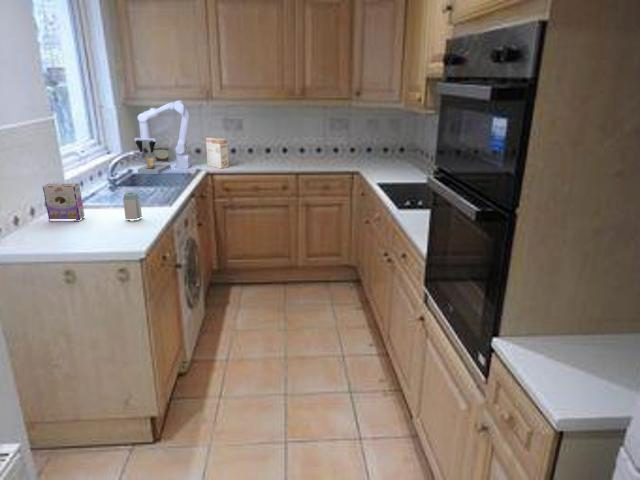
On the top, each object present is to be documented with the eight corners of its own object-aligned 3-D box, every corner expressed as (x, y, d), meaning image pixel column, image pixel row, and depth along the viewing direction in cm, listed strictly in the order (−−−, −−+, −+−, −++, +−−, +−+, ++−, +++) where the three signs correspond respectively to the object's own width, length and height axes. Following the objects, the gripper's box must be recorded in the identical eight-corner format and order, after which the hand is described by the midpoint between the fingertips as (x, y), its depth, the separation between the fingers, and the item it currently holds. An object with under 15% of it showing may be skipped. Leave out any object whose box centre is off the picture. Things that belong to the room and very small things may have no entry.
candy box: (85, 218, 223) (80, 182, 217) (80, 222, 217) (74, 186, 212) (54, 218, 222) (48, 182, 217) (48, 221, 217) (41, 185, 211)
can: (122, 220, 220) (119, 194, 216) (135, 216, 226) (132, 191, 222) (132, 223, 217) (129, 196, 213) (145, 219, 222) (142, 193, 218)
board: (170, 168, 330) (170, 164, 329) (158, 173, 314) (157, 169, 313) (151, 167, 332) (150, 163, 331) (138, 172, 315) (137, 169, 315)
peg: (155, 171, 320) (154, 157, 317) (153, 172, 317) (151, 158, 314) (149, 171, 321) (148, 157, 318) (147, 172, 317) (145, 158, 314)
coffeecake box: (229, 167, 337) (227, 138, 330) (221, 168, 331) (219, 139, 325) (215, 164, 346) (213, 136, 339) (207, 165, 340) (205, 137, 334)
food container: (173, 160, 357) (172, 146, 354) (170, 162, 351) (169, 148, 348) (157, 160, 358) (156, 146, 355) (154, 161, 353) (152, 147, 349)
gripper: (131, 132, 322) (133, 152, 326) (151, 132, 320) (154, 153, 324) (136, 130, 328) (138, 150, 333) (156, 131, 326) (158, 151, 331)
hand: (146, 152), depth 329 cm, fingers open, 7 cm apart
